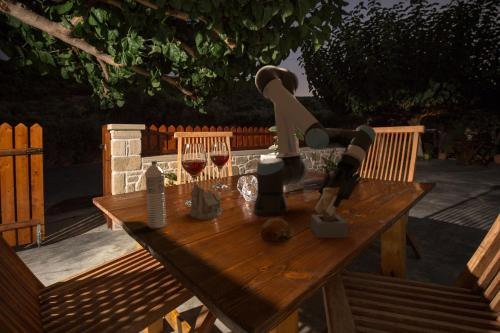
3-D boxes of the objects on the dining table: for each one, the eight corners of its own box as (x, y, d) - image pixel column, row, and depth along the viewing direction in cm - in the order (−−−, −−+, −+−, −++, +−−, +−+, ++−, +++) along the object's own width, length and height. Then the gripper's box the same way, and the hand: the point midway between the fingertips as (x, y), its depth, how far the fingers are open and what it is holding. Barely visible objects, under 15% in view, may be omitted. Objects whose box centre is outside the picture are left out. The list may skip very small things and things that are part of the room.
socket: (317, 238, 94) (318, 223, 94) (310, 227, 104) (311, 214, 103) (347, 237, 94) (348, 223, 94) (337, 227, 104) (338, 214, 104)
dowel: (325, 230, 97) (324, 190, 95) (322, 226, 101) (321, 188, 99) (336, 229, 97) (336, 190, 95) (333, 225, 101) (332, 187, 99)
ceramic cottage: (200, 221, 113) (200, 184, 112) (184, 213, 126) (184, 180, 126) (233, 216, 122) (233, 182, 121) (215, 209, 135) (215, 178, 135)
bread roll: (288, 242, 100) (287, 220, 102) (293, 241, 90) (292, 215, 93) (260, 243, 100) (260, 220, 102) (263, 241, 90) (262, 216, 92)
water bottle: (160, 222, 113) (157, 160, 110) (170, 225, 109) (167, 161, 105) (144, 226, 108) (140, 161, 105) (154, 230, 103) (150, 162, 100)
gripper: (376, 168, 99) (349, 224, 91) (335, 165, 113) (308, 213, 104) (369, 154, 95) (340, 211, 87) (327, 152, 109) (298, 201, 100)
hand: (322, 212), depth 96 cm, fingers closed on dowel, 4 cm apart
